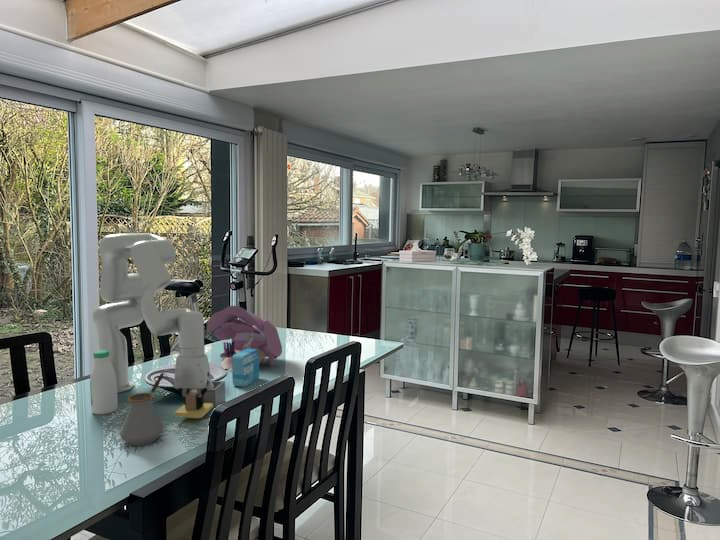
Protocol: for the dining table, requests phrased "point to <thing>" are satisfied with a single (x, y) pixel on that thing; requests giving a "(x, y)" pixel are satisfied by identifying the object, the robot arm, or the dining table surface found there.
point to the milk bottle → (103, 384)
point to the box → (215, 394)
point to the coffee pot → (142, 419)
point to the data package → (245, 367)
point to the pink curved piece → (244, 334)
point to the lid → (192, 407)
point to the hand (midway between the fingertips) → (194, 407)
